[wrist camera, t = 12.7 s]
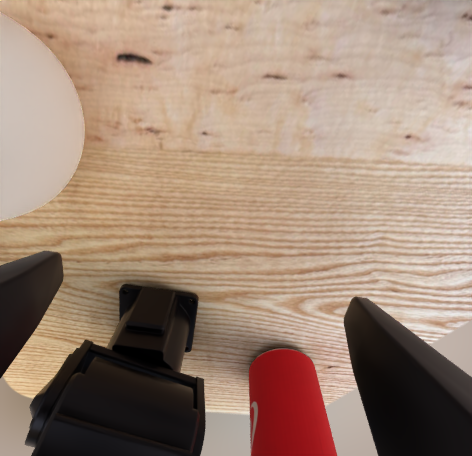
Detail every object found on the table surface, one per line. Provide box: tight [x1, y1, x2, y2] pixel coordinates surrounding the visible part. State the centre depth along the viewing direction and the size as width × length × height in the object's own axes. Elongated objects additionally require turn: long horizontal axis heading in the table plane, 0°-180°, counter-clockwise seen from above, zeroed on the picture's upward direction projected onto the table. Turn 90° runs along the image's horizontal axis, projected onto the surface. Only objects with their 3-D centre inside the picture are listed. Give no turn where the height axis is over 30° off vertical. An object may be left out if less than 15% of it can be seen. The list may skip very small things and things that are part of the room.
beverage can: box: [249, 348, 337, 456], centre depth 24 cm, size 6×6×12 cm
